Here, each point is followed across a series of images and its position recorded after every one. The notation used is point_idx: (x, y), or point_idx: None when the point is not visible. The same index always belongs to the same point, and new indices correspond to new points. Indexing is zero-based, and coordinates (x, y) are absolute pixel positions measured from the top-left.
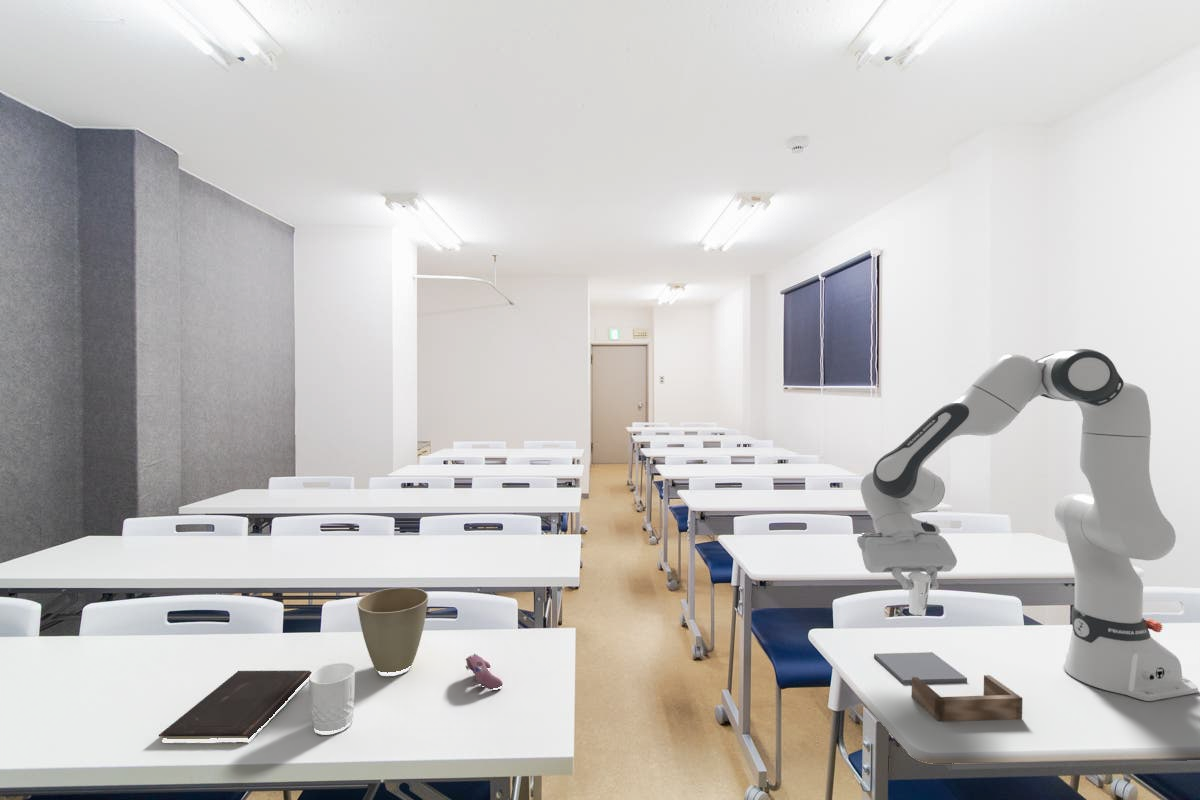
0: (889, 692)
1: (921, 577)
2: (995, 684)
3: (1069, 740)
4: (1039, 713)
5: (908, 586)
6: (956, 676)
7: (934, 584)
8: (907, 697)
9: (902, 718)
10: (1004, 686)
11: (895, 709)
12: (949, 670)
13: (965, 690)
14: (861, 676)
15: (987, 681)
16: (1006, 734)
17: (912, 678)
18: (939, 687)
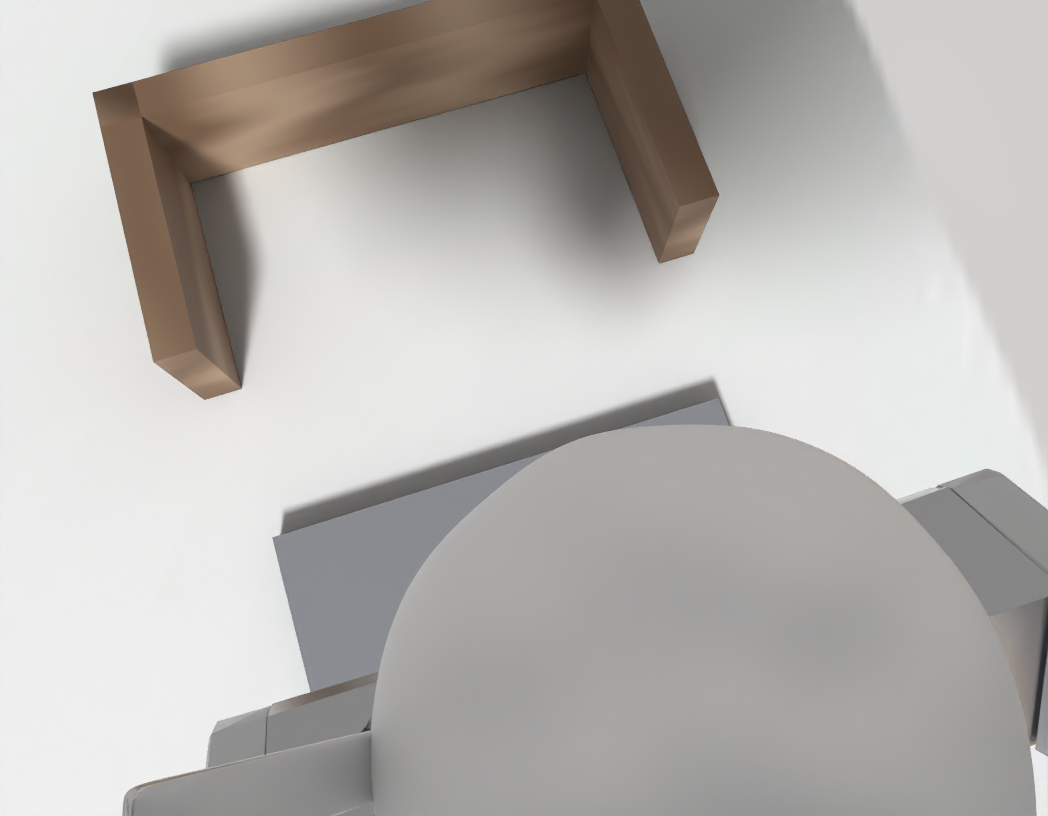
0: (815, 272)
1: (715, 454)
2: (174, 247)
3: (15, 23)
4: (15, 245)
5: (947, 486)
6: (337, 547)
7: (311, 710)
8: (718, 240)
9: (784, 21)
10: (130, 214)
11: (807, 96)
12: (354, 636)
13: (336, 416)
14: (972, 440)
15: (198, 323)
16: (304, 3)
17: (714, 192)
18: (490, 415)
